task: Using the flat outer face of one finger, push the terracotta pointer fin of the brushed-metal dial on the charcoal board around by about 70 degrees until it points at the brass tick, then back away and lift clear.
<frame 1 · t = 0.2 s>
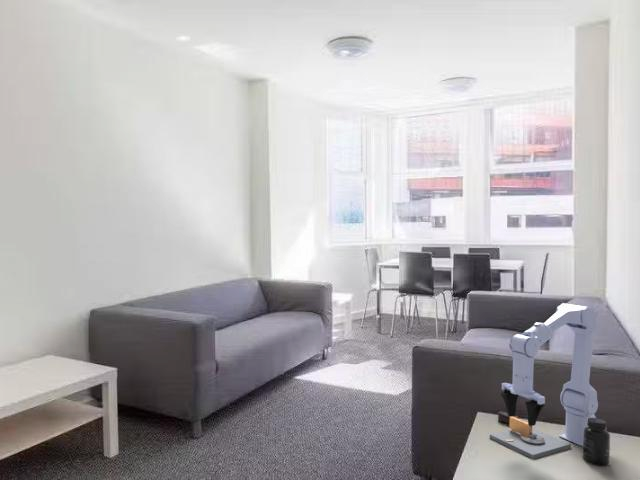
hand: (521, 420, 143), 10 cm above the table, tool pointing down, fingers open, 7 cm apart
board: (529, 442, 151), on the table
supplement bottle: (595, 462, 140), on the table
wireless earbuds: (510, 424, 167), on the table
dial: (526, 429, 152), point 4 cm above the table, hinge at 0.0°
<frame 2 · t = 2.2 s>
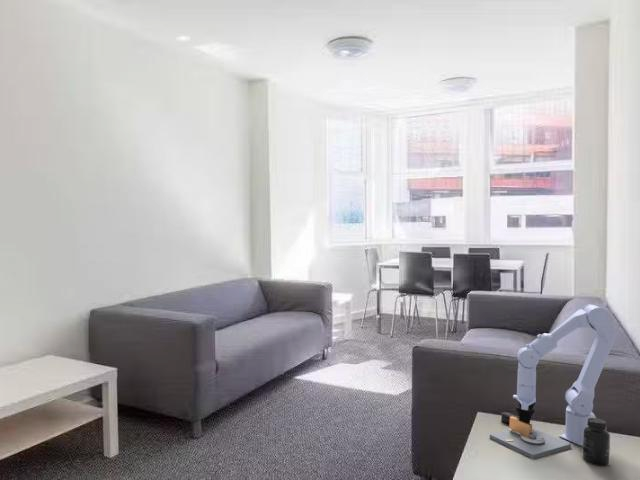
hand: (525, 424, 159), 3 cm above the table, tool pointing down, fingers open, 7 cm apart
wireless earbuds: (514, 425, 167), on the table
dial: (526, 429, 152), point 4 cm above the table, hinge at 0.1°, touching gripper
everything else where it was.
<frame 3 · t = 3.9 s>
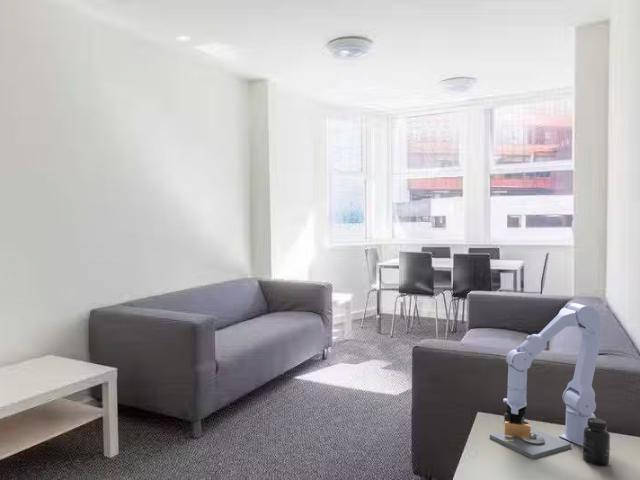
hand: (515, 429, 155), 3 cm above the table, tool pointing down, fingers open, 3 cm apart
dial: (524, 431, 151), point 4 cm above the table, hinge at 43.2°, touching gripper
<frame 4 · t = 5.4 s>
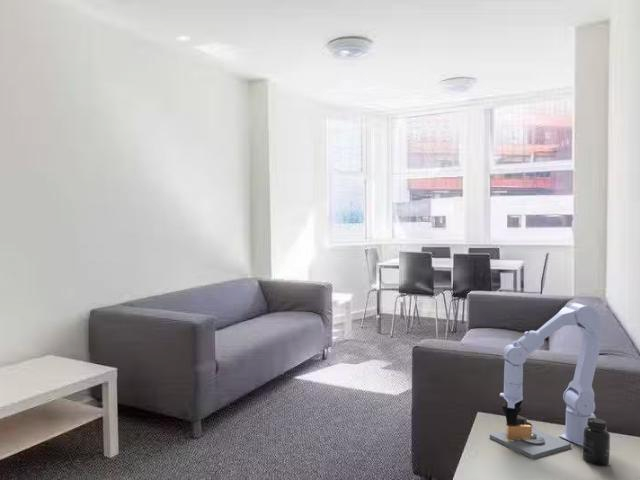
hand: (512, 423, 157), 4 cm above the table, tool pointing down, fingers open, 7 cm apart
dial: (525, 432, 150), point 4 cm above the table, hinge at 64.7°
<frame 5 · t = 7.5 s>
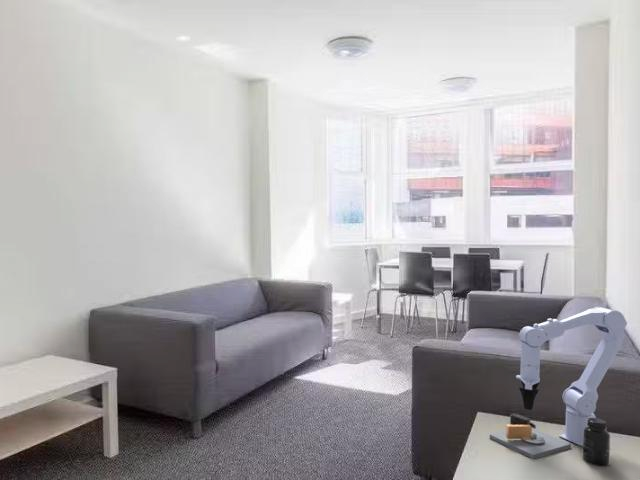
hand: (528, 405, 155), 10 cm above the table, tool pointing down, fingers open, 7 cm apart
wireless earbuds: (523, 426, 166), on the table
everything else where it was.
at the end: dial at +65° (first picture: +0°); the gripper is holding nothing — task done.
